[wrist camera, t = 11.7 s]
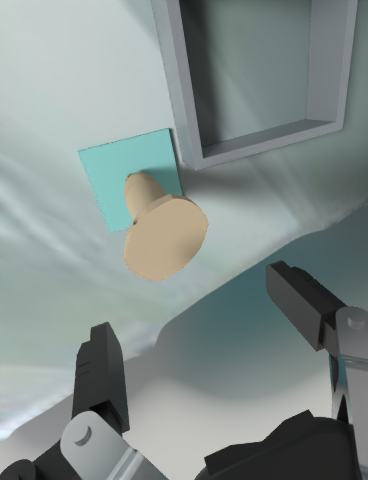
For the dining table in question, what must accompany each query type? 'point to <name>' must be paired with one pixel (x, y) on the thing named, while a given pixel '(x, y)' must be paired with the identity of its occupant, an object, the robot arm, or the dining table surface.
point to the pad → (128, 171)
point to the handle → (160, 229)
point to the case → (318, 91)
